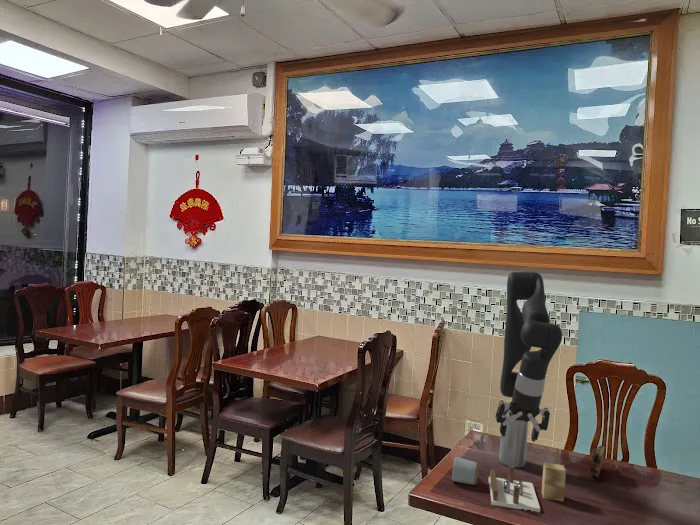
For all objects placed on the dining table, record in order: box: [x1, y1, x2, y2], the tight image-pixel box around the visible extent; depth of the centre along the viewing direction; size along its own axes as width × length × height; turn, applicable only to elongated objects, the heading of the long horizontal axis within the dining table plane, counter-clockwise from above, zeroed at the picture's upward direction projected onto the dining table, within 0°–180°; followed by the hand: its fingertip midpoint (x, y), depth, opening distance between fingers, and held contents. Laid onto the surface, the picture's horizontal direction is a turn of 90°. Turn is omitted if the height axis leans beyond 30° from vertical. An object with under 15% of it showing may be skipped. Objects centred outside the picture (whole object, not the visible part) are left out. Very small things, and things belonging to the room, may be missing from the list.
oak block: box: [541, 462, 567, 502], centre depth 164 cm, size 6×4×10 cm, turn 78°
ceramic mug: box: [451, 456, 480, 486], centre depth 172 cm, size 11×8×8 cm
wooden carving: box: [588, 445, 606, 478], centre depth 183 cm, size 16×5×10 cm, turn 152°
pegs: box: [503, 478, 523, 496], centre depth 164 cm, size 6×4×3 cm
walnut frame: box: [489, 466, 519, 504], centre depth 164 cm, size 7×16×5 cm, turn 168°
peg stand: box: [488, 476, 541, 513], centre depth 164 cm, size 14×17×1 cm
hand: (517, 437), depth 150 cm, fingers open, 8 cm apart
